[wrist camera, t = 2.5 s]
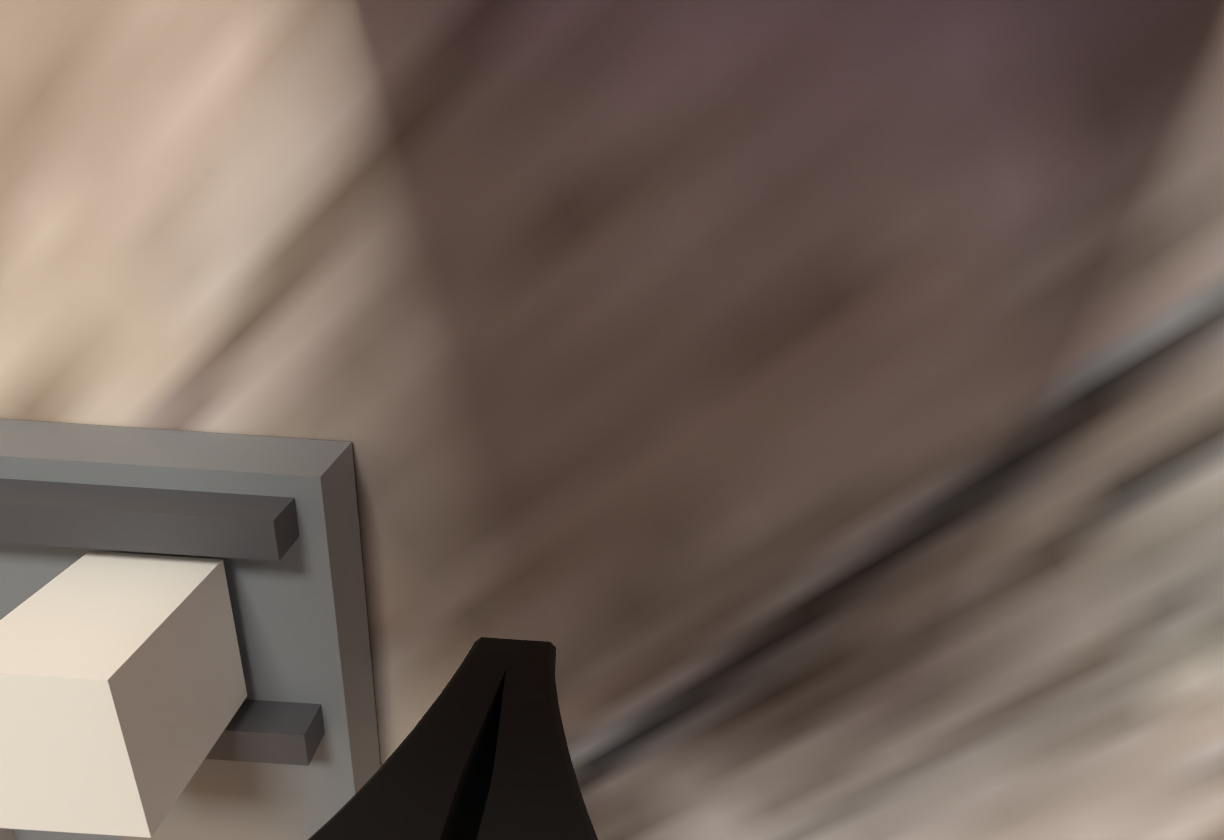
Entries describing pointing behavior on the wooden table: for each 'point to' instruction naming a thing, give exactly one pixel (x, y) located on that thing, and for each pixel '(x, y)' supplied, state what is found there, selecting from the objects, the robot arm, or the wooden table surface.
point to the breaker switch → (114, 692)
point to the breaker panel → (258, 589)
